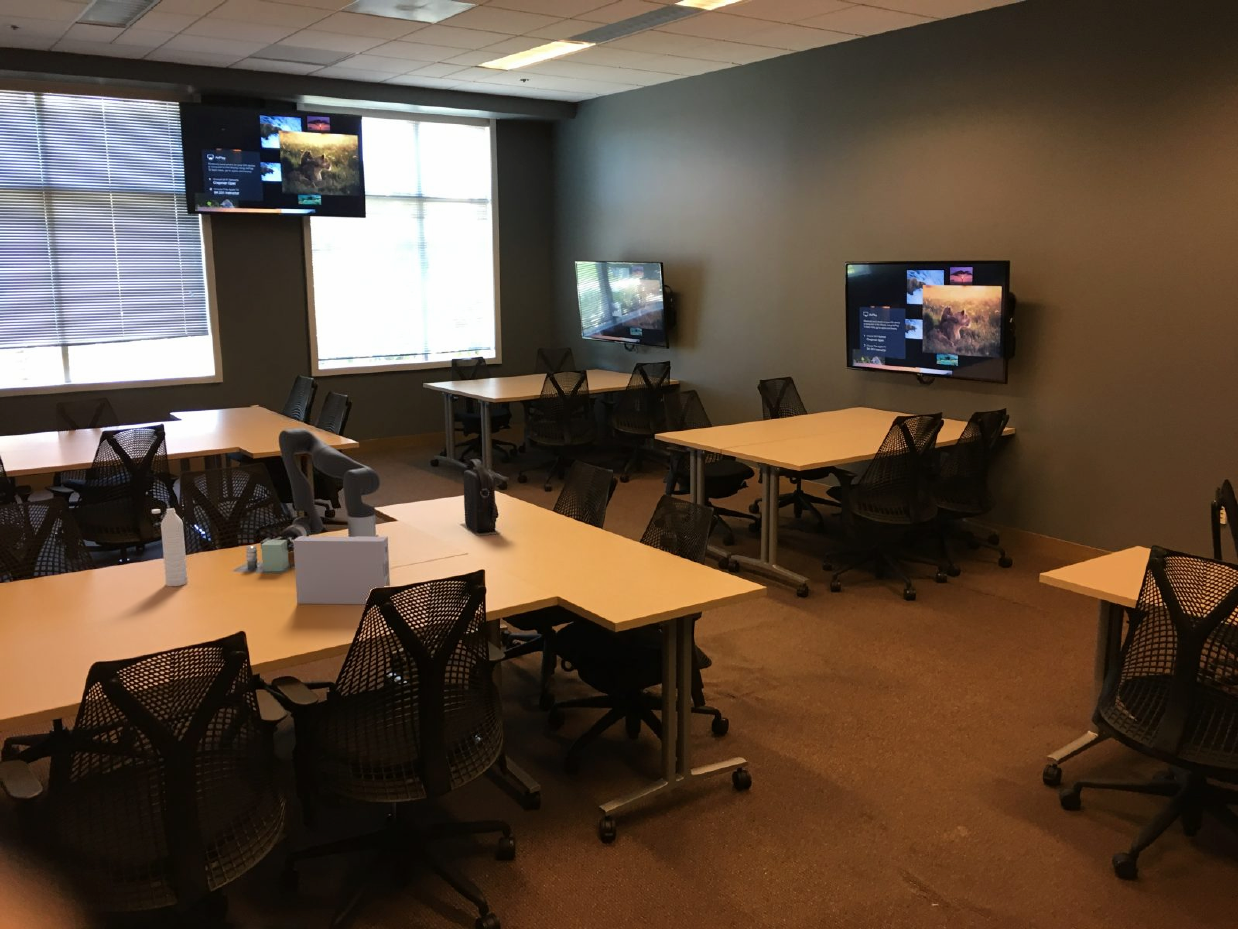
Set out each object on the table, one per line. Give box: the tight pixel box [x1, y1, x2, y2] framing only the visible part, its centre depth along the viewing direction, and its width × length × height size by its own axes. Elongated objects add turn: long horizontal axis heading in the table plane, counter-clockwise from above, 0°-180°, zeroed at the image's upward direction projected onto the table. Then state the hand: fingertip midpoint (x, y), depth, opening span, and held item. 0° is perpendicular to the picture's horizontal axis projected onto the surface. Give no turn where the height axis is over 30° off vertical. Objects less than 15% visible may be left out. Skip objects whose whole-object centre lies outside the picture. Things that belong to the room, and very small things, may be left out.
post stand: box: [231, 545, 295, 575], centre depth 332 cm, size 18×11×8 cm, turn 80°
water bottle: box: [151, 507, 189, 587], centre depth 317 cm, size 9×6×25 cm
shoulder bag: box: [459, 458, 501, 537], centre depth 389 cm, size 23×9×28 cm, turn 28°
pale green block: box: [260, 539, 290, 571], centre depth 331 cm, size 6×6×9 cm
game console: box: [293, 536, 391, 605], centre depth 301 cm, size 6×27×20 cm, turn 88°
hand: (276, 549), depth 332 cm, fingers open, 8 cm apart
